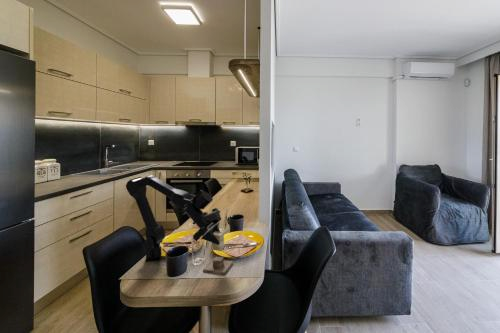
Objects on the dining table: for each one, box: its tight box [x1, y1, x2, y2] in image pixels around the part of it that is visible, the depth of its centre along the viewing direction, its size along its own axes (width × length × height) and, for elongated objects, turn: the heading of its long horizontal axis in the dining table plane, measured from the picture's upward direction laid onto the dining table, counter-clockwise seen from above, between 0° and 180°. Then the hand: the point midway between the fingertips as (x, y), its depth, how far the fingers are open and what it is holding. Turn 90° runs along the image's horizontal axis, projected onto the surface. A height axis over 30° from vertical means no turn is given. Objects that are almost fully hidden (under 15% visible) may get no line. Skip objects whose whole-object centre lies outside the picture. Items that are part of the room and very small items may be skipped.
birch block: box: [211, 231, 225, 252], centre depth 118 cm, size 4×4×7 cm
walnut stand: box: [202, 256, 233, 276], centre depth 120 cm, size 10×10×4 cm
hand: (220, 242), depth 118 cm, fingers closed on birch block, 4 cm apart
